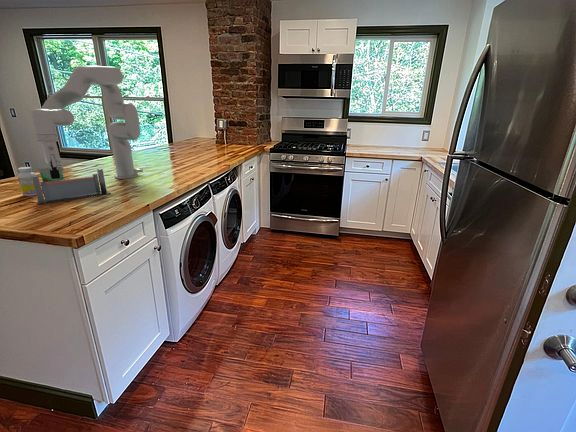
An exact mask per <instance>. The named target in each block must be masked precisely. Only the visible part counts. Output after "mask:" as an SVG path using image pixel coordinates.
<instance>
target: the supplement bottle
mask: <svg viewBox="0 0 576 432" xmlns="http://www.w3.org/2000/svg"><path fill="white" fill-rule="evenodd" d="M32 170H33V169H32V167H31V166H21V167H18V168H17V171H18V172H19V173H18V174H17V178H18V179H17V180H18V183H19V187H20V189H21V193H22V195H23V196H25V197H33V196H37V195H36V191H35V187H34V183H33V180H32V176H37V175H36V173H35V172H33V171H32Z"/></svg>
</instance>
